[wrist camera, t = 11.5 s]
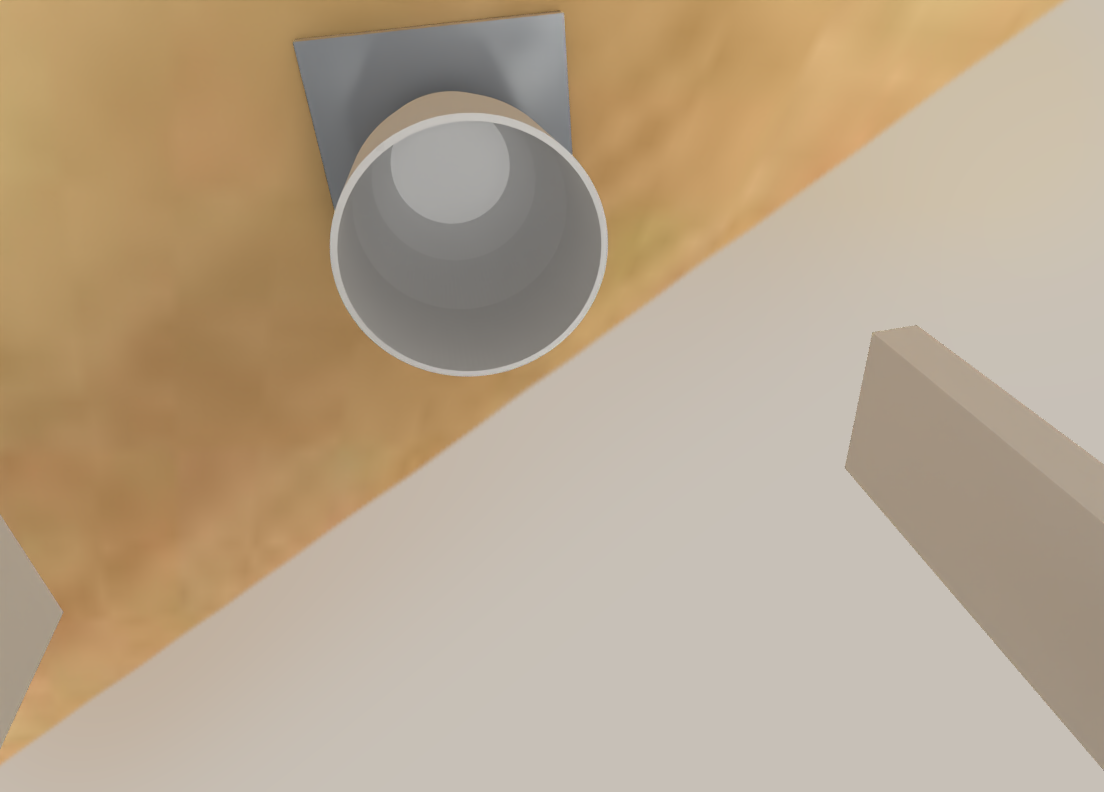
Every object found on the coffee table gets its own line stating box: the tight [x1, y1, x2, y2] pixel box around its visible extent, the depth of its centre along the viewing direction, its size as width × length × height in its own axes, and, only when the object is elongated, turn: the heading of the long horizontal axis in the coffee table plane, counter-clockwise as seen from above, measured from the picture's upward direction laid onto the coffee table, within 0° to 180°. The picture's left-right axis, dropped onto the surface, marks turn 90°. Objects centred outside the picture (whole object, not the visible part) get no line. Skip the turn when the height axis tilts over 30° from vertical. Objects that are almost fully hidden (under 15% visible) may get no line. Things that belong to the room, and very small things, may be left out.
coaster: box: [293, 11, 572, 210], centre depth 30 cm, size 10×10×1 cm
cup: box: [330, 91, 608, 376], centre depth 26 cm, size 8×8×10 cm
